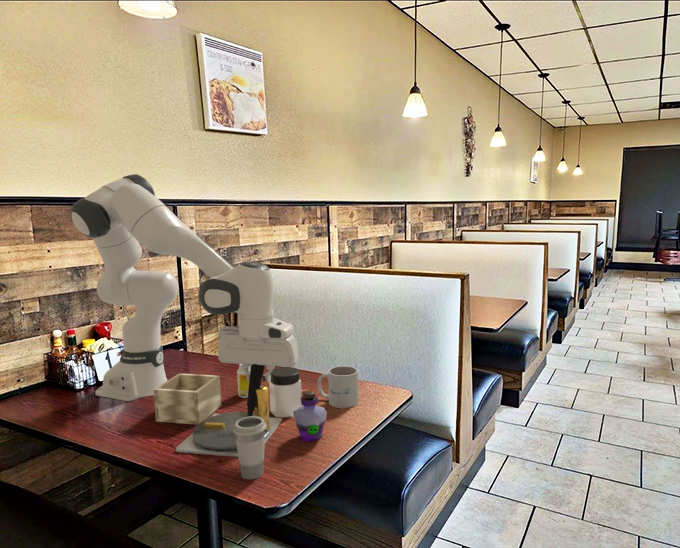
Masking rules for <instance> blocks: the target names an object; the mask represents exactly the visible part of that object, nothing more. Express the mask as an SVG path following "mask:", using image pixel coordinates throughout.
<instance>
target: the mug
mask: <svg viewBox="0 0 680 548" xmlns="http://www.w3.org/2000/svg"><path fill="white" fill-rule="evenodd" d="M323 378H327V379H328V394H327V393H325V392H324V391H323V388H322V380H323ZM317 391H318V393H319V394H320V396H321V397H323V398H324V399H328V404H329V405H330V406H331V407H334V408H339V409H347V408H352V407H355V406H357V405H358V404H359V370H358V368H356V367H354V366H349V365H339V366H338V365H337V366H334V367H331V368H329V369H328V371H327V373H322V374H321V375H319V378H318V380H317Z"/></svg>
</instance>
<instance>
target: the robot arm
mask: <svg viewBox="0 0 680 548" xmlns="http://www.w3.org/2000/svg"><path fill="white" fill-rule="evenodd" d="M69 214H70V218H71V220H72V222H73V225H74V226H75V228H76V229H77V230H78V231H79V232H80V234H82V235H83V236H85V237H88V238H91V239H92V241H93V242H94V244H95V247H96V249H97V251H98V253H99V255H100V257H101V260H102V262H103V265H104V271H103V274H102V275H101V276H100V277H99V278H98V280H97V283H96V293H97V296H98V297H99V299H100V301H101V302H104V303H106V304H110V305H114V306H135V307H136V311H135V315H134V316H132V317H130V318H129V319H127V320H126V322H124V324H123V326H122V329H121V331H122V340H123V349H122V350H120V351H118V352H116V353H115V354H116V357H120V359H119V361H118V362H117V363H115V364H114V365H113V366H112V367H111V368H110V369H108V370H107V371H106V372H105V373H104V375H103V379H102V385H101V386H100V387H98V388H97V389H96V390H95V392H94V393H95V396H98V397H103V398H108V399H112V400H113V399H114V400H119V401H124V402H131V401H136V400H139V398H145V397H150V396H154V389H155V388H157V387H158V386H160V385H162V384H163V383H165V382H166V381H168V378H167V375H166V371H165V367H164V349H163V348H164V347H163V346H164V345H162V341H161V338H162V337H161V335H162V334H161V324H162V323H161V321H162V317H163V315H164V313H165V311H166V309H167V308H168V306H170V305H171V304H172V303H173V302H174V301H175V300H176V298H177V296H178V294H179V291H180V290H179V289H180V288H179V282H178V280H177V278H176V276H174V274H172V273H170V272H165V271H162V270H139V269H138V270H137V269H136V268H135V266H136V265H137V264H138V262H139V261H140V260H141V258H142V255H143V249H142V247H144V248H145V249H147V250H148V251H150V252H152V253H154V254H156V255H157V254H158V255H164V256H172V257H177V258H182V259H184V260H187V261H188V262H189V261H190V262H191V263H192V264H195V266H197V267H198V269H200V270H201V271H202V272H203V273H204V274H205V275H207V276H208V277H209V278H208V279H207V280H205V281H204V282H203V283H202V284H201V285H200V287H199V289H198V300H199V303H200V305H201V307H202V308H203V310H205V312H206V313H208V314H211V315H214V316H216V315H217V316H218V315H219V316H222V315H227V314H231V313H236V314H237V319H238V322H237V323H238V325H237V326H234V325H233V326H229V325H225V326H223V327H220V329H219V330H218V332H217V336H218V341H219V343H218V353H217V354H218V355H217V359H218V360H219V362H220V363H222V364H232V365H233V364H235V365H239V364H242V369H243V370H244V372H245V373H246V375H247V381H249V379H250V368H249V366H250V365H253V364H257V365H265V366H266V367H265V368H266V370H268V371H267V372H266V373H263V376H262V383H269V382H270V381H271V373H272V371H273V370H274V369H276V367H293V368H294V366H295V365H296V364H297V363H298V361H299V350H298V349H299V348H298V342H297V339H296V337H295V336H294V335H293V332H294V325H293V324H292V323H289V322H286V321H283V320H280V319H278V318H276V317H275V311H274V308H273V302H274V298H275V297H274V295H275V294H274V285H273V284H274V282H273V275H272V272H271V269H270V267H269V266H267V265H266V264H265V263H262V262H257V261H242V262H239V263H238V264H237V265H236V266H235V265H234V264H232V263H230V262H229V260H227V259H226V258H224V256H222V254H220V253H219V252H218V251H216V249H214V248H213V246H211V245H210V244H209V243H207V242H206V240H204V239H203V238H202V237H200V236H199V235H198V234H196V232H195V231H193V230H192V229H191V228H190V227H188V226H187V225H186V224H185V223H184V222H183V221H182V220H181V219H180V218H178V217H177V216H176V215H175V213H174V212H173V211H171V209H170V208H168V206H166V204H165V203H164V202H162V200H160V199H159V198H158V197H157V196H156V193H155V190H154V188H153V186H152V185H151V183H150V182H149V181H148V180H147V179H146V178H145V177H143V176H141V175H139V174H137V173H134V174H133V173H132V174H129V175H125V176H122V178H120V179H117V180H114V181H112V182H111V181H110V182H109V183H107V184H104V185H103V186H101V187H100V188H97V189H96V190H95V191H93V192H91V193H89V194H88V195H87V196H85V197H84V198H82V197H81V198H80V199H78V200H77V201H76V202H75V203H73V204H72V205H71V207H70V213H69ZM141 246H142V247H141Z"/></svg>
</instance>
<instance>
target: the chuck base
mask: <svg viewBox="0 0 680 548" xmlns="http://www.w3.org/2000/svg"><path fill="white" fill-rule="evenodd" d="M219 414H220V413H216V412H213V413H212V414H211V415H210V417H212V416H215V415H219ZM282 421H283V417H269V422H270V431H269V433H268V434H267V435H266V436H265V444H266V443H267V442H268V440H269V438H270V437H271V436H272V435H273V433H274V432H275V431H276V429H277V428H278V427H279V426H280V424H281V423H282ZM175 449H176V450H175V452H176V453H184V454H197V455H198V454H199V455H210V456H222V457H223V456H224V457H225V456H226V457H235V458H238V453H237V449H229V450H214V449H208V448H204V447H201V446H199V445H197V444H196V443H195V442H194V440H193V432H192V433H191V434H189V436H188V437H186V438H185V440H183V441H182V442H181V443H180V444H179V445H177V447H175Z"/></svg>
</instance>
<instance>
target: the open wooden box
mask: <svg viewBox="0 0 680 548" xmlns="http://www.w3.org/2000/svg"><path fill="white" fill-rule="evenodd" d="M221 389H222V388H221V376H220V375H216V374H215V375H211V374H198V373H197V374H195V373H177V374H176V375H174V376H173V377H171V378H169V379H167V381H166V382H165V383H163V384H162V385H160V386H158V387H157V388H155V389H154V395H153V401H154V413H155V422H160V423H173V424H174V423H175V424H183V425H184V424H188V425H195V426H197V425H198V424H199V423H200V422H202V421H203V420H205V419H207V418H210V417H211V416H212V415H213V414H214V413H215V412H216V411H217V410H218V409H219V408H221V406H222V390H221Z"/></svg>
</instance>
